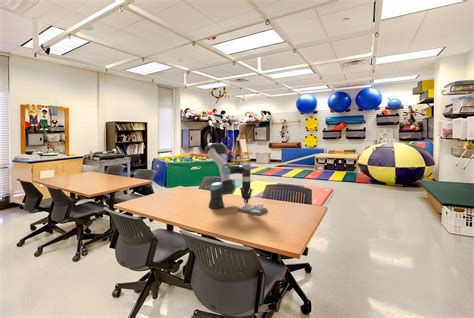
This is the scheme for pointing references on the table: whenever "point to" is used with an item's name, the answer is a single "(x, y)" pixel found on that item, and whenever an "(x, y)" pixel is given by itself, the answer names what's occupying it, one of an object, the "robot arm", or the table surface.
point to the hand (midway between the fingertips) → (246, 206)
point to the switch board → (253, 210)
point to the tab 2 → (260, 206)
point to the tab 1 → (248, 206)
